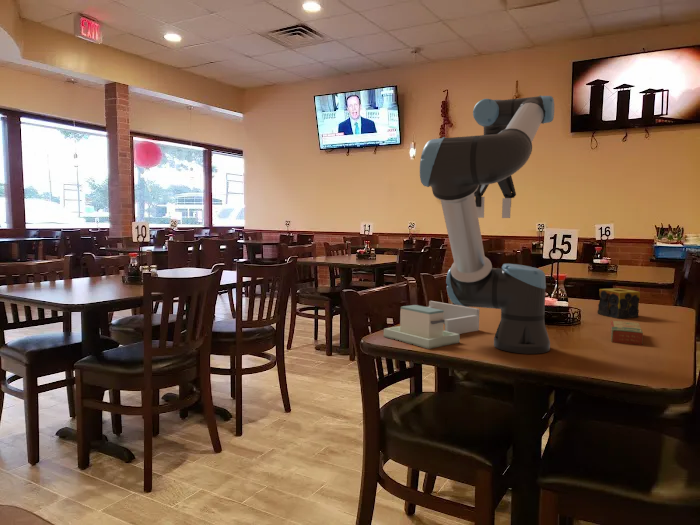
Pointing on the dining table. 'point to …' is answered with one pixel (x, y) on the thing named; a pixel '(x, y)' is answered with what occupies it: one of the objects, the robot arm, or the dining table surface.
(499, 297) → the robot arm
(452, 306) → the bay
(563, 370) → the dining table surface
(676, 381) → the dining table surface
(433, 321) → the mint-topped white block
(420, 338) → the tray
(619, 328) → the carton
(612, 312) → the yellow and blue cube
